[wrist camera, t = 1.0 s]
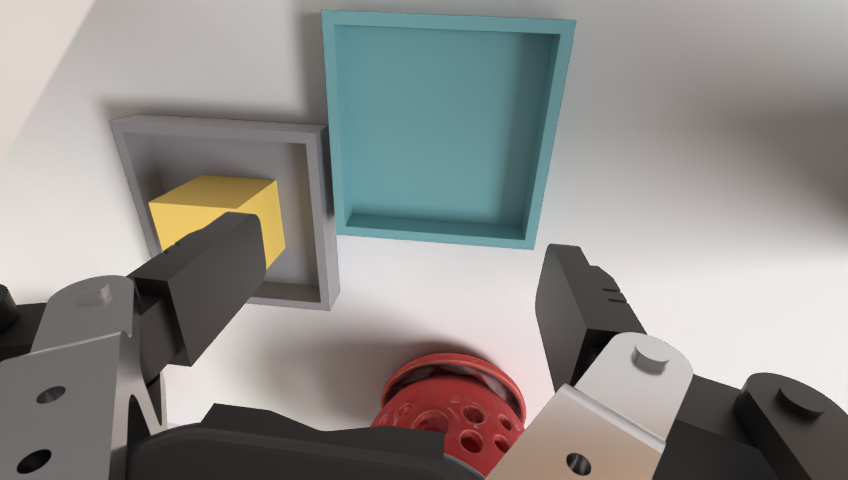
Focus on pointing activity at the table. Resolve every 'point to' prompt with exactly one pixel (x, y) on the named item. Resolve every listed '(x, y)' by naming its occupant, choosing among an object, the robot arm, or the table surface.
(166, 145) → the tray
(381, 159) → the tray
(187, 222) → the marked block
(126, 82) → the table surface
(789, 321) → the table surface
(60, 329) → the robot arm
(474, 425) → the plant pot
